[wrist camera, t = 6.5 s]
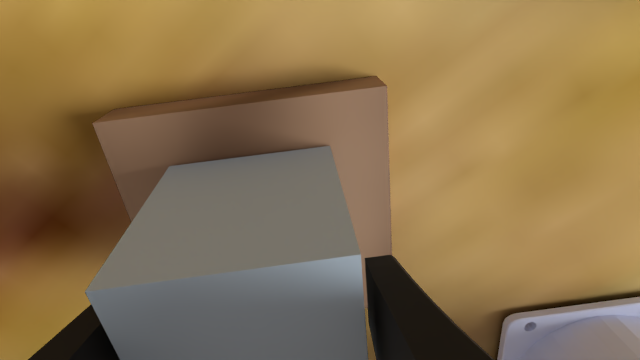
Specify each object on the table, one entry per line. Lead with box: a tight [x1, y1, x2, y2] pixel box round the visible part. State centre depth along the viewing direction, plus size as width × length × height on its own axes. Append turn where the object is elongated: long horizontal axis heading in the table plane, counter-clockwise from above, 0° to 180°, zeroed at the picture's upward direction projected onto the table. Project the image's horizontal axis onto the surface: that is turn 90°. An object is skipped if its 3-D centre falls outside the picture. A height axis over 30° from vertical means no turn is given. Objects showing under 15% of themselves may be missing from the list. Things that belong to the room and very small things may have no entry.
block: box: [85, 146, 368, 360], centre depth 9 cm, size 5×5×5 cm
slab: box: [92, 76, 392, 308], centre depth 13 cm, size 8×8×2 cm
